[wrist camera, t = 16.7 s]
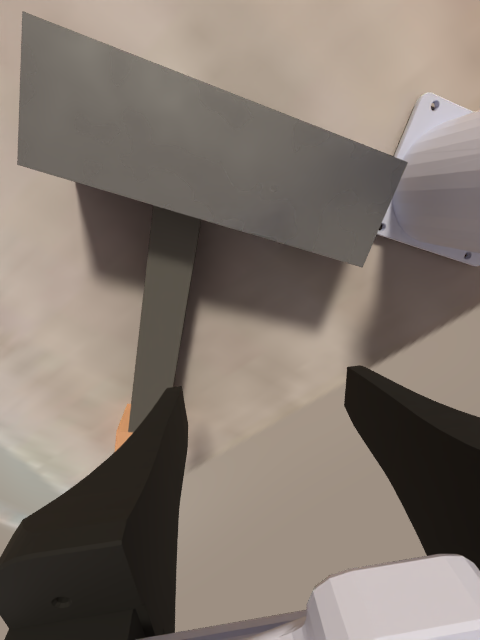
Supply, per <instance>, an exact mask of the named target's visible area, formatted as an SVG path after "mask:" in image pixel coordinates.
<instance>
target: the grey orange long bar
mask: <svg viewBox="0 0 480 640" xmlns="http://www.w3.org/2000/svg"><path fill="white" fill-rule="evenodd" d="M200 223H201V219H198V218H195V217H191V216H188V215H185V214H181V213H178V212H175V211H171V210H168V209H165V208H161V207H158V206H154V205H153V214H152V223H151V231H150V240H149V249H148V258H147V267H146V276H145V285H144V294H143V303H142V312H141V321H140V330H139V339H138V347H137V356H136V365H135V374H134V383H133V392H132V401H131V404H127V406H126V409H125V411H124V414H123V416H122V419H121V421H120V424H119V426H118V429H117V433H116V444H115V451H116V450H117V449H118V448H120V447H121V446H122V444H123V443H124V442H125V441H126V440H127V439H128V438H129V437H130V436H131V435H132V433H133V432H134V431H135V430H136V429H137V427H138V426H139V425H140V424H141V423H142V421H143V420H144V419H145V418H146V416H147V415H148V414H149V412H150V411H151V410H152V408H153V407H154V405H155V404H156V403H157V401H158V400H159V398H160V397H161V395H162V394H163V392H164V391H165V390H166V389H167V388H170V387H173V385H174V379H175V373H176V367H177V361H178V355H179V349H180V343H181V337H182V331H183V325H184V319H185V313H186V307H187V301H188V295H189V289H190V283H191V277H192V271H193V265H194V259H195V253H196V247H197V241H198V235H199V229H200Z"/></svg>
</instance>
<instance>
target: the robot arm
mask: <svg viewBox="0 0 480 640" xmlns="http://www.w3.org/2000/svg"><path fill="white" fill-rule="evenodd" d="M432 102H433V103H434V105H435V108H434V110H433V111H432V110H431V104H432ZM394 157H396V158H399V159H401V160H404V161H406V162H408V163H407V166H406V168H405V170H404V173H403V175H402V177H401V180H400V182H399V184H398V187H397V189H396V191H395V193H394V196H393V198H392V200H391V203H390V205H389V207H388V210H387V212H386V214H385V217H384V219H383V221H382V225H383V227H382V229H381V230H380V231H379V230H378V233H377V235H380V236H383V237H386V238H389V239H392V240H395V241H398V242H401V243H404V244H407V245H410V246H413V247H416V248H419V249H422V250H425V251H429V252H432V253H435V254H438V255H441V256H444V257H447V258H450V259H453V260H456V261H459V262H462V263H465V264H468V265H471V266H480V110H479V111H476V112H473V111H471V110H469V109H466V108H464V107H462V106H460V105H458V104H455V103H453V102H451V101H449V100H447V99H444V98H442V97H440V96H438V95H436V94H433V93H430V92H428V93H425V94H423V95H421V96H420V97H419V98H418V100H417V102H416V104H415V107H414V109H413V111H412V114H411V116H410V119H409V121H408V123H407V126H406V128H405V131H404V133H403V135H402V138H401V140H400V143H399V145H398V147H397V150H396V152H395V155H394ZM466 253H467V256H466V257H465V258H464V256H465V254H466ZM344 406H345V408H346V410H347V412H348V415H349V417H350V419H351V421H352V423H353V425H354V426H355V428H356V430H357V431H358V433H359V434H360V436H361V437H362V439H363V440H364V442H365V443H366V445H367V447H368V448H369V449H370V451H371V453H372V454H373V456H374V457H375V459H376V460H377V461H378V463H379V465H380V466H381V468H382V469H383V471H384V472H385V474H386V476H387V477H388V479H389V481H390V482H391V484H392V486H393V488H394V490H395V491H396V494H397V495H398V497H399V499H400V501H401V503H402V505H403V507H404V509H405V511H406V513H407V515H408V517H409V519H410V521H411V523H412V525H413V527H414V529H415V531H416V533H417V535H418V537H419V539H420V541H421V544H422V546H423V548H424V550H425V552H426V554H427V556H424V557H418V558H411V559H405V560H399V561H393V562H387V563H381V564H375V565H370V566H363V567H357V568H352V569H347V570H344V571H341V572H338V573H335V574H332V575H329V576H328V577H327V578H325V579H324V580H323V581H321V582H320V583H319V584H317V585H316V586H315V587H314V589H313V592H312V594H311V596H310V598H309V600H308V603H307V610H302V611H297V612H291V613H285V614H279V615H274V616H268V617H262V618H256V619H251V620H245V621H239V622H233V623H228V624H222V625H216V626H210V627H205V628H199V629H193V630H188V631H182V632H176V633H175V595H176V563H177V562H176V561H177V538H178V518H179V505H180V497H181V490H182V483H183V476H184V469H185V462H186V455H187V448H188V421H187V415H186V409H185V403H184V397H183V391H182V386H179V387H170V388H167V389H166V390H165V391H164V392H163V394H162V395H161V397H160V398H159V400H158V401H157V403H156V404H155V405H154V407H153V408H152V410H151V411H150V412H149V414H148V415H147V416H146V418H145V419H144V420H143V421H142V423H141V424H140V425H139V426H138V427H137V429H136V430H135V431H134V432H133V433H132V435H131V436H130V437H129V438H128V439H127V440H126V441H125V442H124V443H123V444H122V446H121V447H120V448H118V449H117V450H116V451H115V452H114V453H113V454H112V455H111V456H110V457H109V458H108V459H107V460H106V461H104V462H103V463H102V464H101V465H100V466H99V467H97V468H96V469H95V470H94V471H93V472H92V473H90V474H89V475H88V476H87V477H85V478H84V479H83V480H81V481H80V482H79V483H78V484H76V485H75V486H73V487H72V488H71V489H69V490H68V491H67V492H65V493H64V494H62V495H61V496H60V497H58V498H56V499H55V500H53V501H52V502H51V503H49V504H47V505H46V506H44V507H43V508H41V509H40V510H38V511H36V512H35V513H33V514H32V515H30V516H28V517H27V518H25V519H23V520H22V522H21V523H20V525H19V526H18V528H17V530H16V531H15V533H14V534H13V536H12V538H11V539H10V541H9V543H8V545H7V546H6V548H5V550H4V552H3V554H2V556H1V557H0V616H1V617H2V618H3V620H4V621H5V623H6V624H7V626H8V627H9V631H8V633H7V635H6V637H5V640H480V417H476V416H473V415H470V414H467V413H464V412H462V411H458V410H456V409H453V408H450V407H448V406H446V405H443V404H440V403H438V402H436V401H433V400H431V399H429V398H426V397H424V396H422V395H420V394H417V393H415V392H413V391H411V390H409V389H407V388H405V387H403V386H401V385H399V384H397V383H395V382H393V381H391V380H389V379H387V378H385V377H383V376H381V375H380V374H378V373H375V372H374V371H372V370H370V369H368V368H365V367H363V366H353V367H347V378H346V391H345V404H344Z"/></svg>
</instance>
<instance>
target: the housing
mask: <svg viewBox="0 0 480 640" xmlns="http://www.w3.org/2000/svg"><path fill="white" fill-rule="evenodd" d="M407 163H408V162H406V161H404V160H401V159H399V158H396V157H393V156H391V155H388V154H386V153H383V152H381V151H378V150H376V149H373V148H370V147H368V146H365V145H363V144H360V143H358V142H355V141H353V140H350V139H348V138H345V137H342V136H340V135H337V134H335V133H332V132H330V131H327V130H325V129H322V128H319V127H317V126H314V125H312V124H309V123H307V122H304V121H302V120H299V119H296V118H294V117H291V116H289V115H286V114H284V113H281V112H279V111H276V110H273V109H271V108H268V107H266V106H263V105H261V104H258V103H256V102H253V101H250V100H248V99H245V98H243V97H240V96H238V95H235V94H233V93H230V92H227V91H225V90H222V89H220V88H217V87H215V86H212V85H210V84H207V83H204V82H202V81H199V80H197V79H194V78H192V77H189V76H187V75H184V74H181V73H179V72H176V71H174V70H171V69H169V68H166V67H164V66H161V65H159V64H156V63H153V62H151V61H148V60H146V59H143V58H141V57H138V56H136V55H133V54H130V53H128V52H125V51H123V50H120V49H118V48H115V47H113V46H110V45H107V44H105V43H102V42H100V41H97V40H95V39H92V38H90V37H87V36H84V35H82V34H79V33H77V32H74V31H72V30H69V29H67V28H64V27H61V26H59V25H56V24H54V23H51V22H49V21H46V20H44V19H41V18H38V17H36V16H33V15H31V14H28V13H26V12H23V11H22V41H21V71H20V101H19V131H18V161H17V165H20V166H24V167H27V168H30V169H34V170H37V171H40V172H44V173H47V174H50V175H54V176H57V177H60V178H64V179H67V180H71V181H74V182H77V183H81V184H84V185H87V186H91V187H94V188H97V189H101V190H104V191H107V192H111V193H114V194H118V195H121V196H124V197H128V198H131V199H134V200H138V201H141V202H144V203H148V204H151V205H154V206H158V207H161V208H165V209H168V210H171V211H175V212H178V213H181V214H185V215H188V216H191V217H195V218H198V219H201V220H205V221H208V222H211V223H215V224H218V225H222V226H225V227H228V228H232V229H235V230H238V231H242V232H245V233H248V234H252V235H255V236H258V237H262V238H265V239H269V240H272V241H275V242H279V243H282V244H285V245H289V246H292V247H295V248H299V249H302V250H305V251H309V252H312V253H315V254H319V255H322V256H326V257H329V258H332V259H336V260H339V261H342V262H346V263H349V264H352V265H356V266H359V267H363V265H364V263H365V260H366V258H367V256H368V253H369V251H370V249H371V246H372V244H373V242H374V240H375V237H376V235H377V233H378V230H379V228H380V226H381V223H382V221H383V219H384V217H385V214H386V212H387V210H388V207H389V205H390V203H391V200H392V198H393V196H394V193H395V191H396V189H397V187H398V184H399V182H400V180H401V177H402V175H403V173H404V170H405V168H406V166H407Z"/></svg>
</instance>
